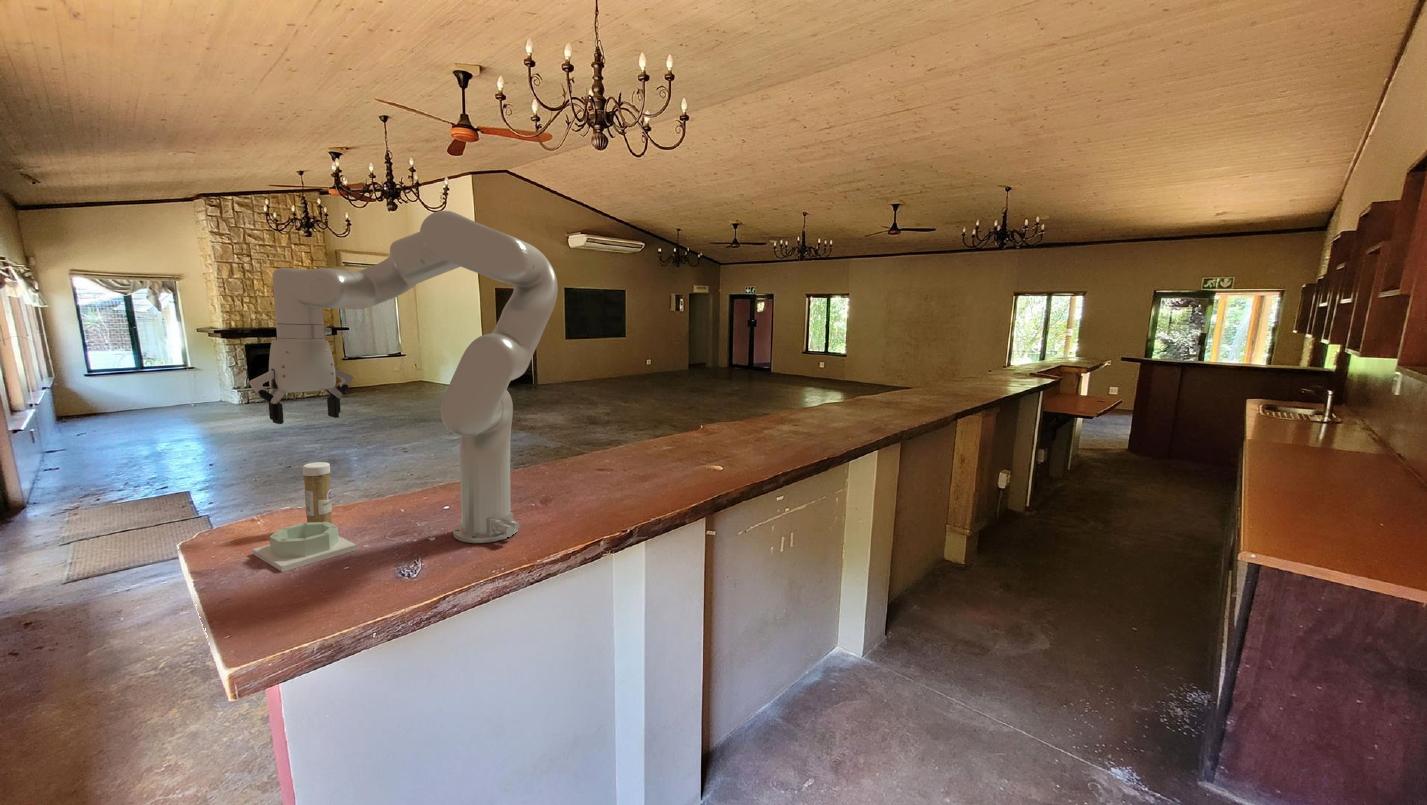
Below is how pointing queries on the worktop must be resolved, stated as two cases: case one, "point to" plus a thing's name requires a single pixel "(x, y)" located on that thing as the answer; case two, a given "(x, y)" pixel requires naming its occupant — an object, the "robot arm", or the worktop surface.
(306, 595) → the worktop surface
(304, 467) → the sprinkles bottle
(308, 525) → the bottle collar
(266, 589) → the worktop surface
